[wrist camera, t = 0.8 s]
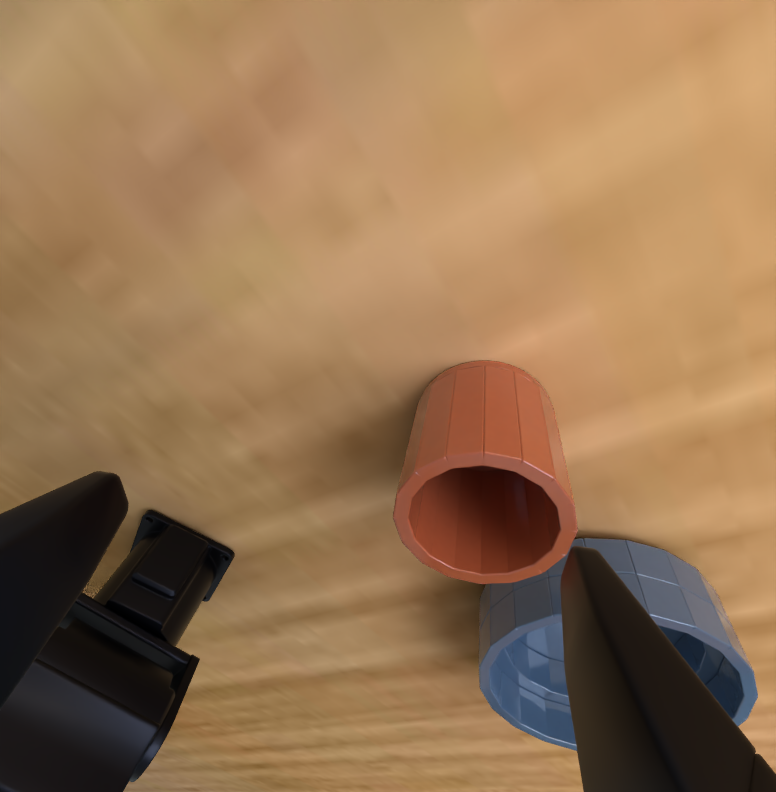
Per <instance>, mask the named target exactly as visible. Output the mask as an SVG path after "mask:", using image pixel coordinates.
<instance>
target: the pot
mask: <svg viewBox="0 0 776 792" xmlns="http://www.w3.org/2000/svg"><path fill="white" fill-rule="evenodd" d="M393 519H394V522H395V525H396V527H397V530H398V533H399V536H400V538H401V541H402V543H403V544H404V545H405V546H406V547H407V548H408V549H409V550H410V551H411V552H412V553H413V554H414V555H415V556H416V558H417V559H418V560H419V561H420V562H422V563H423V564H425V565H427V566H429V567H430V568H432V569H434V570H436V571H438V572H440V573H442V574H444V575H446V576H447V577H450V578H455V579H459V580H464V581H468V582H473V583H477V584H480V583H481V584H498V583H513V582H518V581H521V580H524V579H527V578H530V577H533V576H536V575H540V574H542V573H544V572H546V571H547V570H548V569H549V568H551V567H552V566H553V565H555V564H556V563H557V562H558V561H560V560H561V559H562V558H563V557H565V555H567V553H568V551H569V549H570V547H571V544H572V542H573V540H574V538H575V536H576V534H577V529H578V527H577V519H576V511H575V504H574V499H573V495H572V490H571V485H570V481H569V476H568V472H567V467H566V463H565V458H564V454H563V449H562V444H561V440H560V435H559V431H558V426H557V422H556V417H555V412H554V408H553V405H552V403H551V401H550V398H549V396H548V394H547V393H546V391H545V389H544V388H543V387H542V386H541V384H540V383H539V382H538V381H537V380H536V379H534V378H533V377H532V376H531V375H529V374H528V373H526V372H525V371H523V370H521V369H519V368H517V367H514V366H512V365H509V364H505V363H501V362H495V361H474V362H468V363H463V364H460V365H457V366H454V367H452V368H450V369H448V370H446V371H444V372H443V373H441V374H440V375H438V376H437V377H436V378H435V379H434V380H433V381H432V382H431V383H430V384H429V385H428V386H427V387H426V389H425V391H424V392H423V394H422V396H421V398H420V401H419V403H418V406H417V410H416V414H415V418H414V422H413V427H412V431H411V435H410V439H409V443H408V448H407V452H406V456H405V460H404V464H403V469H402V473H401V477H400V481H399V485H398V490H397V494H396V500H395V506H394V512H393Z"/></svg>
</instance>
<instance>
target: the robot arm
mask: <svg viewBox="0 0 776 792" xmlns="http://www.w3.org/2000/svg"><path fill="white" fill-rule="evenodd" d="M127 511H128V500H127V497H126V494H125V491H124V488H123V485H122V482H121V479H120V477H119V476H118V475H117V474H114V473H108V472H102V471H97V472H93V473H91V474H89V475H87V476H84V477H82V478H80V479H78V480H75V481H73V482H71V483H69V484H67V485H64V486H62V487H60V488H58V489H55V490H53V491H51V492H49V493H46V494H44V495H42V496H40V497H38V498H35V499H33V500H31V501H29V502H26V503H24V504H22V505H20V506H17V507H15V508H13V509H11V510H9V511H6V512H4V513H2V514H0V792H123V791H124V789H125V787H126V785H127V784H128V782H129V781H131V782H134V781H136V780H137V779H138V778H139V777H140V776H141V775H142V773H143V772H144V771H145V770H146V768H147V767H148V766H149V764H150V763H151V761H152V760H153V758H154V757H155V755H156V754H157V752H158V750H159V749H160V747H161V745H162V744H163V742H164V740H165V738H166V736H167V734H168V733H169V731H170V729H171V726H172V724H173V722H174V720H175V717H176V715H177V713H178V710H179V708H180V706H181V703H182V701H183V698H184V696H185V694H186V691H187V689H188V686H189V684H190V682H191V679H192V677H193V674H194V672H195V670H196V667H197V665H198V662H199V660H200V659H199V658H198V657H196V656H194V655H189V654H187V653H186V652H184V651H182V650H180V649H179V648H177V647H175V646H176V645H177V643H178V641H179V640H180V638H181V636H182V634H183V633H184V631H185V629H186V628H187V626H188V624H189V622H190V621H191V619H192V617H193V615H194V614H195V612H196V610H197V609H198V607H199V605H200V603H201V602H202V601H209V600H210V598H211V596H212V594H213V593H214V591H215V589H216V587H217V586H218V584H219V582H220V580H221V579H222V577H223V575H224V574H225V572H226V570H227V568H228V567H229V565H230V563H231V561H232V560H233V558H234V555H235V554H234V552H233V551H232V550H230V549H228V548H226V547H224V546H223V545H221V544H219V543H217V542H215V541H213V540H211V539H209V538H207V537H205V536H203V535H201V534H199V533H197V532H195V531H193V530H191V529H189V528H187V527H185V526H183V525H181V524H179V523H177V522H175V521H173V520H171V519H169V518H167V517H165V516H163V515H161V514H159V513H157V512H155V511H153V510H148V511H147V512H146V513H145V514H144V515H143V517H142V520H141V523H140V526H139V528H138V531H137V534H136V537H135V540H134V543H133V545H132V548H131V551H130V554H129V555H128V556H127V558H126V559H125V560H124V561H123V562H122V564H121V565H120V566H119V567H118V569H117V570H116V571H115V572H114V574H113V575H112V576H111V577H110V579H109V580H108V581H107V582H106V584H105V585H104V586H103V587H102V589H101V590H100V591H99V592H98V593H97V595H96V596H95V597H94V598H91V597H89V596H87V595H86V594H84V593H82V591H83V589H84V588H85V586H86V585H87V583H88V582H89V580H90V578H91V576H92V575H93V573H94V571H95V570H96V568H97V566H98V564H99V563H100V561H101V559H102V557H103V555H104V554H105V552H106V550H107V548H108V547H109V545H110V543H111V541H112V539H113V538H114V536H115V534H116V532H117V531H118V529H119V527H120V525H121V523H122V522H123V520H124V518H125V516H126V514H127ZM560 589H561V609H562V629H563V650H564V667H565V677H566V684H567V691H568V697H569V703H570V709H571V716H572V722H573V728H574V734H575V740H576V746H577V753H578V759H579V765H580V771H581V777H582V783H583V790H584V792H776V774H775V773H774V771H773V770H772V769H771V768H770V766H769V765H768V764H767V762H766V761H765V760H764V759H763V757H762V756H761V755H759V754H755V748H754V746H753V745H752V744H751V743H750V741H749V740H748V739H747V738H746V736H745V735H744V734H743V733H742V731H741V730H740V729H739V727H738V726H737V725H736V724H735V722H734V721H733V720H732V719H731V717H730V716H729V715H728V714H727V712H726V711H725V710H724V709H723V707H722V706H721V705H720V704H719V702H718V701H717V700H716V698H715V697H714V696H713V695H712V693H711V692H710V691H709V690H708V688H707V687H706V686H705V685H704V683H703V682H702V681H701V680H700V678H699V677H698V676H697V675H696V673H695V672H694V671H693V669H692V668H691V667H690V666H689V664H688V663H687V662H686V661H685V659H684V658H683V657H682V656H681V654H680V653H679V652H678V651H677V649H676V648H675V647H674V646H673V644H672V643H671V642H670V640H669V639H668V638H667V637H666V635H665V634H664V633H663V632H662V630H661V629H660V628H659V627H658V625H657V624H656V623H655V622H654V620H653V619H652V618H651V617H650V615H649V614H648V613H647V611H646V610H645V609H644V608H643V606H642V605H641V604H640V603H639V601H638V600H637V599H636V598H635V596H634V595H633V594H632V593H631V591H630V590H629V589H628V588H627V586H626V585H625V584H624V582H623V581H622V580H621V579H620V577H619V576H618V575H617V574H616V572H615V571H614V570H613V569H612V567H611V566H610V565H609V564H608V562H607V561H606V560H605V559H604V557H603V556H602V555H601V553H600V552H599V551H597V550H596V549H594V548H588V547H582V546H573V547H572V548H571V550H570V552H569V555H568V558H567V561H566V564H565V567H564V569H563V572H562V576H561V585H560Z"/></svg>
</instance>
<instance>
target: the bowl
mask: <svg viewBox="0 0 776 792" xmlns="http://www.w3.org/2000/svg"><path fill="white" fill-rule="evenodd" d="M573 546H582V547H588V548H594V549H596V550H597V551H599V552H600V553H601V555H602V556H603V557H604V559H605V560H606V561H607V562H608V564H609V565H610V566H611V567H612V569H613V570H614V571H615V572H616V574H617V575H618V576H619V577H620V579H621V580H622V581H623V582H624V584H625V585H626V586H627V588H628V589H629V590H630V591H631V593H632V594H633V595H634V596H635V598H636V599H637V600H638V601H639V603H640V604H641V605H642V606H643V608H644V609H645V610H646V611H647V613H648V614H649V615H650V617H651V618H652V619H653V620H654V622H655V623H656V624H657V625H658V627H659V628H660V629H661V630H662V632H663V633H664V634H665V635H666V637H667V638H668V639H669V640H670V642H671V643H672V644H673V646H674V647H675V648H676V649H677V651H678V652H679V653H680V654H681V656H682V657H683V658H684V659H685V661H686V662H687V663H688V664H689V666H690V667H691V668H692V669H693V671H694V672H695V673H696V675H697V676H698V677H699V678H700V680H701V681H702V682H703V683H704V685H705V686H706V687H707V688H708V690H709V691H710V692H711V693H712V695H713V696H714V697H715V698H716V700H717V701H718V702H719V704H720V705H721V706H722V707H723V709H724V710H725V711H726V712H727V714H728V715H729V716H730V717H731V719H732V720H733V721H734V722H735V724H736V725H737V726H739V725H740V724H742V723H743V722H744V721H746V719H747V718H748V716H749V714H750V712H751V710H752V708H753V706H754V704H755V702H756V700H757V698H758V693H757V687H756V682H755V676H754V671H753V669H752V667H751V665H750V663H749V661H748V658H747V656H746V654H745V652H744V650H743V648H742V646H741V644H740V642H739V639H738V637H737V635H736V633H735V631H734V629H733V627H732V625H731V622H730V620H729V618H728V616H727V614H726V612H725V610H724V608H723V606H722V603H721V601H720V599H719V597H718V595H717V593H716V591H715V590H714V588H713V587H712V586H711V585H710V584H709V583H708V581H707V580H706V579H705V578H704V577H703V575H702V574H701V573H700V572H699V571H698V570H697V569H696V568H695V567H693V566H692V565H690V564H688V563H686V562H685V561H683V560H681V559H679V558H678V557H676V556H674V555H672V554H671V553H669V552H667V551H665V550H663V549H659V548H655V547H651V546H648V545H644V544H640V543H637V542H633V541H629V540H619V539H598V538H584V539H583V538H579V539H574V540H573V542H572V544H571V547H570V549H569V551H568V553H567V555H565V557H563V558H562V559H561V560H560V561H558V562H557V563H556V564H555V565H553V566H552V567H551V568H549V569H548V570H547V571H546V572H544V573H542V574H540V575H536V576H533V577H530V578H527V579H524V580H521V581H518V582H513V583H498V584H486V586H485V588H484V590H483V592H482V594H481V596H480V623H479V682H480V689H481V691H482V693H483V694H484V696H485V698H486V699H487V701H488V703H489V704H490V706H491V708H492V709H493V710H494V711H496V712H497V713H498V714H499V715H500V716H502V717H503V718H504V719H505V720H506V721H508V722H509V723H510V724H511V725H513V726H514V727H516V728H518V729H520V730H522V731H524V732H526V733H528V734H530V735H532V736H534V737H536V738H538V739H540V740H542V741H545V742H548V743H552V744H555V745H559V746H562V747H565V748H569V749H572V750H576V751H577V746H576V740H575V734H574V728H573V722H572V716H571V709H570V703H569V697H568V691H567V684H566V677H565V667H564V650H563V629H562V609H561V589H560V585H561V576H562V572H563V569H564V567H565V564H566V561H567V558H568V555H569V552H570V550H571V548H572V547H573Z"/></svg>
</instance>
